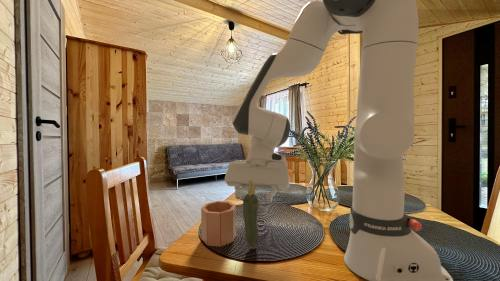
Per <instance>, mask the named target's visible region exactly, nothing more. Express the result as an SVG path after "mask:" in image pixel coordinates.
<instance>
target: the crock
mask: <svg viewBox="0 0 500 281" xmlns="http://www.w3.org/2000/svg"><path fill="white" fill-rule="evenodd" d="M200 214H201V215H200V216H201V217H200V219H201V241H203V242H204V244H205V245H206V246H210V247H211V246H212V247H220V248H221V247H224V246H226V244H227V245H229V243H230V244H232V243H231V242H233V241H235V240H234V239H236V238H235V236H236V237H237V205H236V204H234V203H233V202H231V201H226V200H216V201H215V200H214V201H211V202H210V201H209V202H206V203H205V204H204V205H203V206H202V207H201V209H200ZM233 243H234V242H233Z"/></svg>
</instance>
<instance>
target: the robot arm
mask: <svg viewBox="0 0 500 281" xmlns="http://www.w3.org/2000/svg"><path fill="white" fill-rule="evenodd" d="M337 32H338V33H339V34H340V35H350V34H351V35H354V34H355V35H356V34H362V44H361V54H360V67H359V77H358V78H359V79H358V92H357V105H356V118H355V126H354V131H353V132H354V137H353V139H354V142H353V174H352V176H353V179H352V205H351V206H350V212H349V228H350V232H349V240H348V244H347V247H346V251H345V253H344V256H343V261H344V263H345V265H346V267H347V268H348V269H349V270H351V271H352V272H353V273H354V274H356V275H357V276H359V277H361V278H363V279H365V280H366V281H454V279H453V277H452V275H450V273H449V272H448V271H447V270H446V269H445V267H444V266H442V265H441V264H442V262H441V260H440V257H439V254H438V253H437V251H436V250H435V248H433V246H431V244H430V243H428V241H426V240H425V239H424V238H423V237H421V236H420V235H419V234H418V233H416V232H419V231H421V230H422V229H423V226H422V224H421V223H420V222H419V221H418V220H416V219H414V218H413V219H412V217H411V216H410V215H408V214H406V213H405V212H404V210H405V208H404V207H405V189H406V180H405V172H404V159H403V155H405V154H406V152H408V151H409V149H411V147H412V145H413V143H414V141H415V140H414V139H415V93H414V91H415V90H414V84H415V71H416V62H417V53H418V45H419V44H418V43H419V13H418V6H417V1H416V0H322V1H321V0H314V1H313V0H312V1H310V2H308V3H306V4H305V5H304V6H303V7H302V9H301V11H300V12H299V14H298V16H297V18H296V20H295V22H294V24H293V25H292V28H291V31H290V33H289V35H288V38H287V40H286V42H285V44H284V45H283V47H282V48H281V49H280V50H279V51H278V52H277V53H272V54H270V55H269V57H267V59H266V60H265V62H264V63H263V65H262V67H261V69H260V71H259V72H258V73H257V75H256V77H255V79H254V81H253V82H252V84H251V85H250V88H249V90H248V91H247V92H246V95H245V96H244V98H243V100H242V102H241V103H240V104H239V105H238V107H237V108H236V110H235V112H234V114H233V117H232V122H231V123H232V126H233V128H234V129H235V131H236V132H237V133H238V134H239V135H240V134H241V135H245V136H250V137H251V139H250V148H249V150H248V153H247V156H246V159H240V160H238V159H234V160H232V161H230V162H229V163H228V168H227V171H226V173H225V176H224V181H225V184H226V185H227V186H228V187H234V190H235V195H234V198H235V199H236V200H242V196H243V194H242V192H241V191H239V190H240V189H241V188H249V184H250V180H251V181H252V182H253V185H254V188H255V189H264V190H265V189H267V190H271V192H269V193H267V194H266V199H265V200H266V202H267V203H268V202H269V203H272V202H273V197H274V196H275V195H276V194H277V193H278V190H282V191H287V190H288V189H289V188H290V175H289V174H290V173H289V168H288V164H287V163H288V162H287V161H288V160H287V158H286V156H285V155H282V154H279V153H276V152H275V149H276V148H279V147H280V146H282V145H283V144H286V142H287V140H288V139H289V137H290V134H291V123H290V119H289V118H288V117H287V116H286V115H284V114H282V113H278V112H276V111H272V110H269V109H267V108H263V107H260V106H259V105H257V104H258V102H259V101H260V99H261V97H262V96H263V94H264V91H265V90H266V88H267V86H268V85H269V84H270V83H271V82H272V81H273V80H275V79H278V78H279V79H280V78H295V77H296V78H297V77H303V76H306V75H308V74H311V73H312V72H314V71H315V70H316V69H317V67H318V66H319V64H320V62H321V60H322V58H323V56H324V54H325V52H326V49H327V47H328V44H329V43H330V41H331V38H332V37H333V36H334V35H335V33H337ZM446 279H448V280H446Z"/></svg>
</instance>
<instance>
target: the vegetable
mask: <svg viewBox="0 0 500 281" xmlns="http://www.w3.org/2000/svg"><path fill="white" fill-rule="evenodd" d="M255 193H256V188H254V185H253V182H252V181H251V180H250V184H249V187H247V194H246V195H245V196H244V198H243V201H242V214H243V220H244V221H243V222H244V232H245V238H246V242H247V243H246V244H247V245H248V246H249V247H250V248H251V249H255V248H254V247H256V248H257V246H258V245H259V230H258V211H259V199H258V196H256V194H255Z"/></svg>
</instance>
